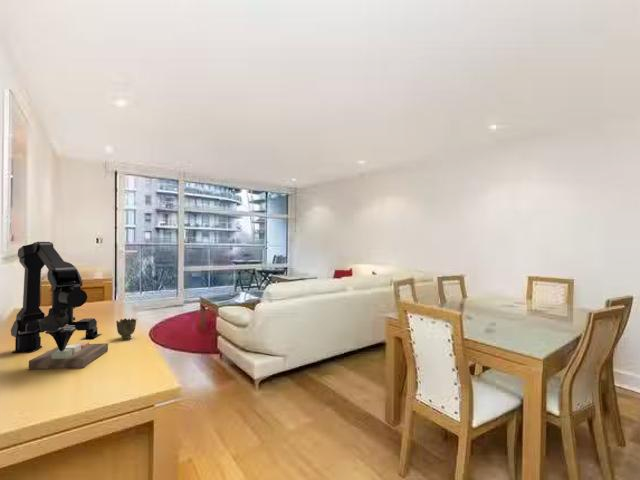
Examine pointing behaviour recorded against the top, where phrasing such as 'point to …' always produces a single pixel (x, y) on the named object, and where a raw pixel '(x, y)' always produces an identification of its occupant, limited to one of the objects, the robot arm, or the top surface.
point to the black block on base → (91, 334)
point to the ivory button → (74, 347)
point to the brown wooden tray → (69, 358)
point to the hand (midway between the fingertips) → (61, 350)
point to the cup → (126, 328)
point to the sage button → (61, 354)
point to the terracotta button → (84, 344)
